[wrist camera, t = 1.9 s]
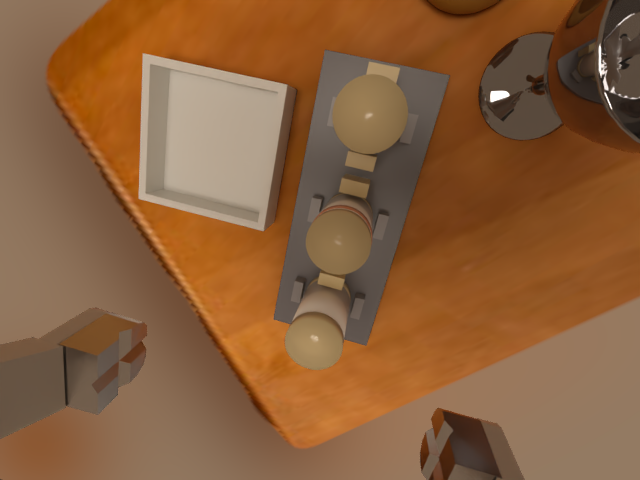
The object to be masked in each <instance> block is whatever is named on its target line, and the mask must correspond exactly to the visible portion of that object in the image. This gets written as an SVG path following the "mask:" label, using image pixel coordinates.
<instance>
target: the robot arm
mask: <svg viewBox="0 0 640 480" xmlns="http://www.w3.org/2000/svg"><path fill="white" fill-rule="evenodd" d="M146 336H147V325H146V324H145V323H143V322H141V321H138V320H134V319H131V318H128V317H125V316H122V315H119V314H116V313H111V312H108V311H105V310H102V309H99V308H89V309H88V310H86V311H84V312H83V313H81V314H79V315H78V316H76V317H74V318H72V319H71V320H69V321H67V322H66V323H64V324H63V325H61V326H59V327H57V328H56V329H54V330H52V331H51V332H49V333H47V334H46V335H44V336H42V337H41V338H39V339H37V338H34V337H32V338H28V339H23V340H19V341H15V342H10V343H6V344H1V345H0V439H1V438H4V437H6V436H8V435H10V434H12V433H14V432H16V431H18V430H20V429H22V428H25V427H27V426H29V425H31V424H33V423H35V422H37V421H39V420H41V419H43V418H46V417H48V416H50V415H52V414H54V413H56V412H58V411H60V410H62V409H64V408H66V406H68V407H72V408H75V409H79V410H83V411H86V412H90V413H93V414H96V415H98V414H99V413H100V412H101V411H102V410H103V409H104V408H105V407H106V406H107V405H108V404H109V403H110V402H111V401H112V400H113V399H114V398H115V397H116V396H117V395H118V387H120V386H123V385H125V384H128V383H130V382H131V381H132V380H133V379H134V378H135V377H136V376H137V375H138V373H139V371H140V370H141V368H142V366H143V364H144V360H145V357H146V348H145V346H144V344H143V342H142V340H143V339H144V338H145V337H146ZM431 420H432V425H433V428H432V429H430V430H428V431H426V433H425V435H424V438H423V440H422V445H421V451H420V464H421V471H422V474H423V475H424V477H425V478H426V479H427V480H524V477H523V475H522V473H521V471H520V468H519V466H518V464H517V462H516V460H515V457H514V455H513V453H512V450H511V448H510V446H509V444H508V441H507V439H506V437H505V435H504V432H503V430H502V428H501V427H500V426H499V425H498V424H497V423H493V422H489V421H485V420H482V419H476V418H472V417H469V416H465V415H462V414H458V413H454V412H451V411H448V410H444V409H441V408H437V409H436V411H435V412H434V414H433V416H432V418H431ZM0 480H1V479H0Z"/></svg>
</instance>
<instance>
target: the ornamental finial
mask: <svg viewBox="0 0 640 480" xmlns="http://www.w3.org/2000/svg"><path fill="white" fill-rule="evenodd" d="M428 1H429V2H430V3H431V4H432V5H433V6H435V7H436V8H438V9H440V10H442V11H445V12H448V13H452V14H471V13H475V12H479V11H481V10H484V9H486V8H488V7H490V6H492V5H494V4H495V3H497V2H498V1H500V0H428Z"/></svg>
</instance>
